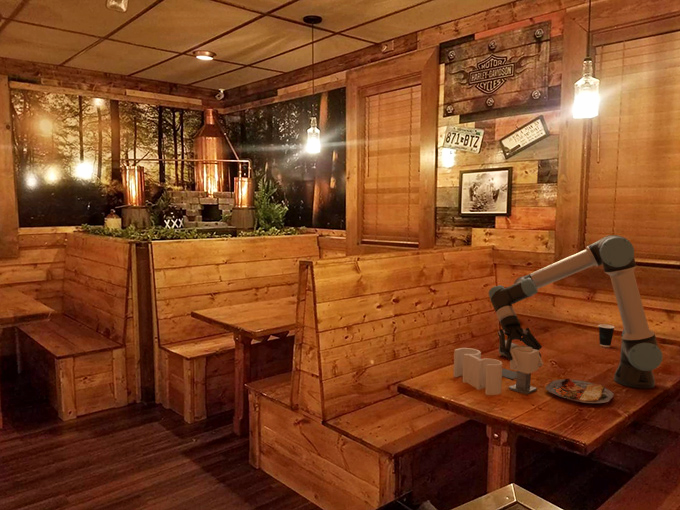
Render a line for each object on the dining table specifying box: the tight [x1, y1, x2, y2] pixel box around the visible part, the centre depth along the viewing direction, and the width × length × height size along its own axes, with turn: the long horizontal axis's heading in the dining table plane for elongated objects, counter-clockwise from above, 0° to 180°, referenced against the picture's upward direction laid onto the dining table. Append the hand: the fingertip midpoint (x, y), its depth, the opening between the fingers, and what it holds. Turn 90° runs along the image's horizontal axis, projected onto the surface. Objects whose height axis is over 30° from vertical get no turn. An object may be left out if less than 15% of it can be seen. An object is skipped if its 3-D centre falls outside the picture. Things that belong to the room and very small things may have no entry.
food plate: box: [545, 378, 615, 405], centre depth 206 cm, size 25×23×4 cm
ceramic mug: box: [498, 339, 519, 358], centre depth 256 cm, size 11×8×8 cm
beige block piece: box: [509, 345, 540, 374], centre depth 209 cm, size 8×8×9 cm
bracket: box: [452, 347, 503, 396], centre depth 215 cm, size 25×10×12 cm, turn 20°
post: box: [508, 371, 538, 395], centre depth 210 cm, size 8×8×11 cm
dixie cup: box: [597, 323, 616, 348], centre depth 280 cm, size 8×8×11 cm
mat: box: [502, 368, 517, 381], centre depth 229 cm, size 10×10×1 cm
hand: (528, 366), depth 206 cm, fingers closed on beige block piece, 11 cm apart
